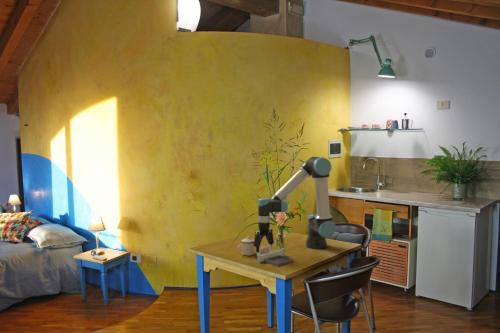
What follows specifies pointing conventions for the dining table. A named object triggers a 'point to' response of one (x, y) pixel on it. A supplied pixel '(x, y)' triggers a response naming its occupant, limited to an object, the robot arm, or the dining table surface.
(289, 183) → the robot arm
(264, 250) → the ball
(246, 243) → the teacup with lid
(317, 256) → the dining table surface
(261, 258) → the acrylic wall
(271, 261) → the tray
